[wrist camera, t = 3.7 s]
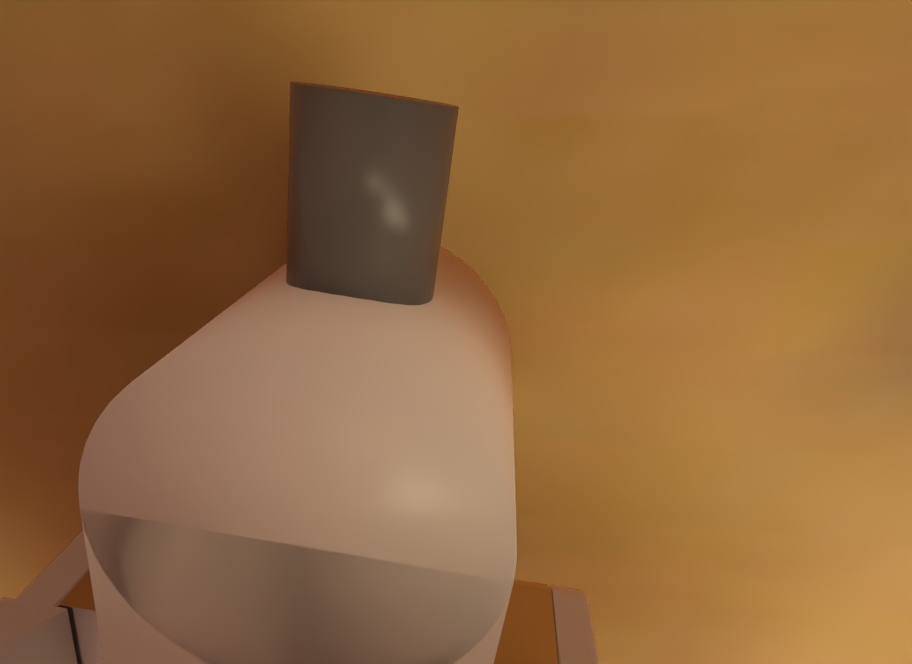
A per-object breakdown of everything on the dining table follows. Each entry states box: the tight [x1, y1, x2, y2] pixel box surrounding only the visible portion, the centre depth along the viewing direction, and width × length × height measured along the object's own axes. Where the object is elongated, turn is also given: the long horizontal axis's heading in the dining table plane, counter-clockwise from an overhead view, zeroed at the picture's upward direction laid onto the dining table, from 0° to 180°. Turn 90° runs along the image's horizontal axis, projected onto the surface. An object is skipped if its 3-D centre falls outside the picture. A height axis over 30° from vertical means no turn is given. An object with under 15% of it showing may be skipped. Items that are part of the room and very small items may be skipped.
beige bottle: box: [78, 82, 517, 664], centre depth 8 cm, size 14×4×4 cm, turn 172°
